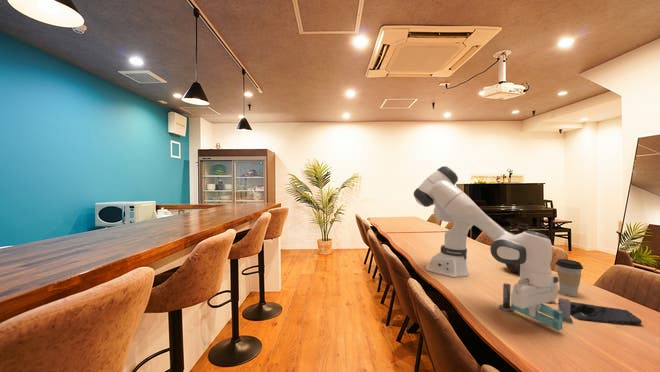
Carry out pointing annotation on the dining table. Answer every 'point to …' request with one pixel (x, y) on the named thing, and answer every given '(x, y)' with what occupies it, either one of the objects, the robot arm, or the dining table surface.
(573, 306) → the dark slate chunk
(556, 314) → the gate
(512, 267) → the dark brown vase
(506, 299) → the hinge post
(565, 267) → the coffee cup
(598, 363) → the dining table surface
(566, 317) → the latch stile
